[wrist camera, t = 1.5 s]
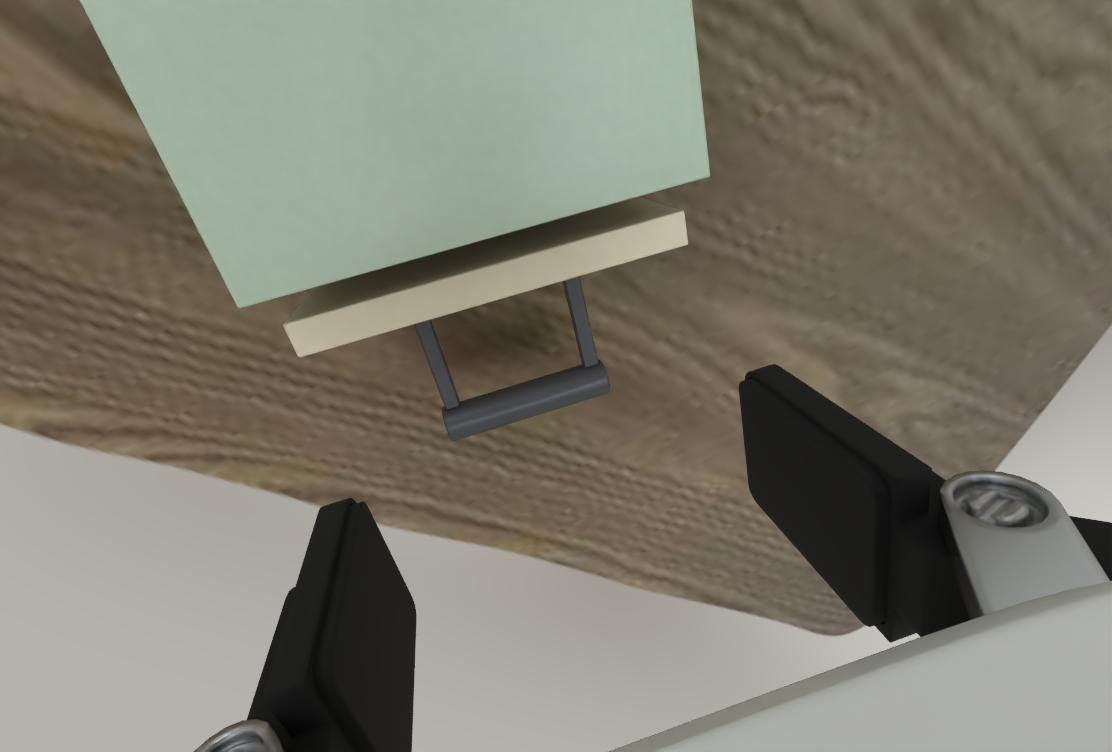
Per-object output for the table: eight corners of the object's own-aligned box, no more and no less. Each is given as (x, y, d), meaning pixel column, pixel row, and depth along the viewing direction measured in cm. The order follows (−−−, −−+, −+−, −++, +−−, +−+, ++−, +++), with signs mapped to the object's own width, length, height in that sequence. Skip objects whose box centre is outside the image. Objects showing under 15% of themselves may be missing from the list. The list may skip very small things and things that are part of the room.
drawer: (640, 333, 29) (708, 397, 22) (385, 410, 28) (369, 505, 21) (547, -190, 20) (610, -372, 13) (164, -108, 19) (-1, -257, 12)
